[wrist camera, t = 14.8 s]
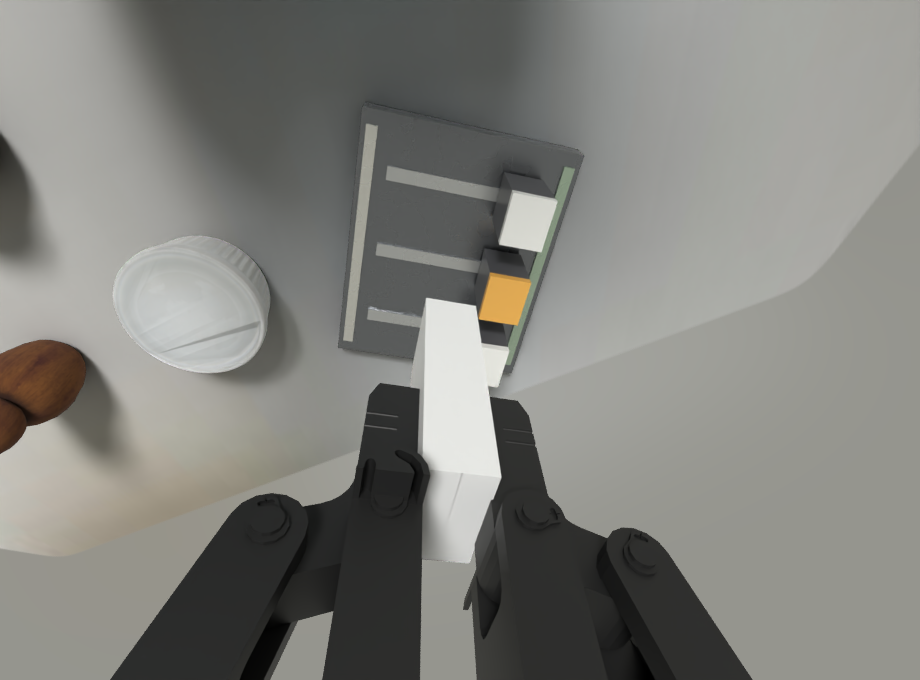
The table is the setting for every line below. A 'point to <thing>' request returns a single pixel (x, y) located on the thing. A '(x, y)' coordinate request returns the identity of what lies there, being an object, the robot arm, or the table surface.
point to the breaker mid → (501, 287)
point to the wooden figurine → (36, 386)
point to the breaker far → (493, 350)
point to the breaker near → (523, 212)
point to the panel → (435, 222)
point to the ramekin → (194, 304)
